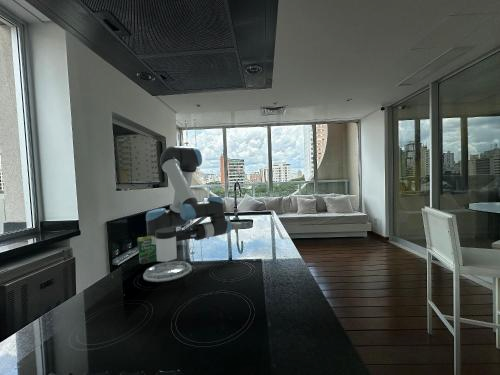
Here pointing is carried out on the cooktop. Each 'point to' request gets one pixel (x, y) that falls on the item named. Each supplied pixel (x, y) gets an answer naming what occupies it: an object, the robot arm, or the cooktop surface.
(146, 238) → the coffee box
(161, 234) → the jar
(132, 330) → the cooktop surface
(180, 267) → the rosette plate
